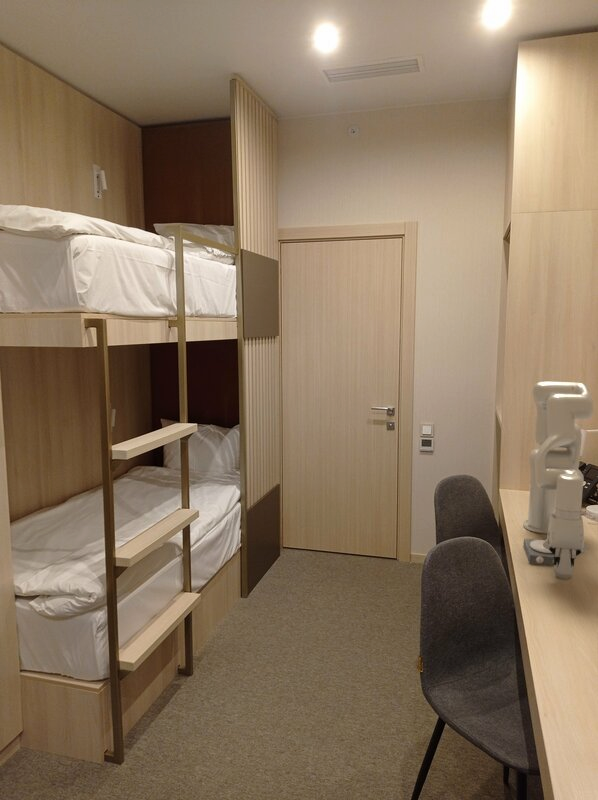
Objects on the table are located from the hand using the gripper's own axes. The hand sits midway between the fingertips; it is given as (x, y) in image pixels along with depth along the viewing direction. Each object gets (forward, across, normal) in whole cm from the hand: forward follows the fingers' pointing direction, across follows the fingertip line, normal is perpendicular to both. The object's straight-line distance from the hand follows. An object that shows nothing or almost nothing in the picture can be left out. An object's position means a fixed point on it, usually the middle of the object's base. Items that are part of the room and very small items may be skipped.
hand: (563, 567), depth 186 cm
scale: (+3, +3, -15) cm, 15 cm away
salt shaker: (+3, 0, 0) cm, 3 cm away
